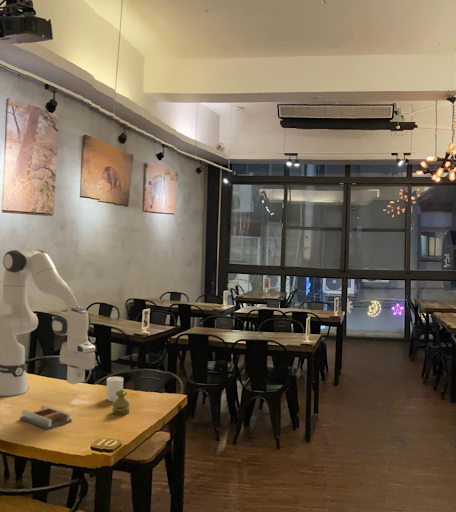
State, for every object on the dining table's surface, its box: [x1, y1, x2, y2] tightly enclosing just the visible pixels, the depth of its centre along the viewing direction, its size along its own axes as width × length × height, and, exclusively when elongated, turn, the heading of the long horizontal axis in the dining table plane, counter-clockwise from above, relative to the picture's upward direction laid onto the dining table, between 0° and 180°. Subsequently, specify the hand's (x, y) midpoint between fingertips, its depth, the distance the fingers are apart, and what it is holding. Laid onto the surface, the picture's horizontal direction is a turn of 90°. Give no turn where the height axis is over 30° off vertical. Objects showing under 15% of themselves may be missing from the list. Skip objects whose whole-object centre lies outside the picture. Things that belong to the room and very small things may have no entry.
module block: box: [66, 365, 86, 385], centre depth 214 cm, size 4×6×7 cm
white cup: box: [106, 376, 124, 402], centre depth 233 cm, size 8×8×10 cm
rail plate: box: [19, 404, 72, 431], centre depth 202 cm, size 18×12×4 cm, turn 56°
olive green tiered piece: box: [111, 389, 130, 416], centre depth 215 cm, size 7×7×10 cm
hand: (76, 375), depth 214 cm, fingers closed on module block, 4 cm apart
